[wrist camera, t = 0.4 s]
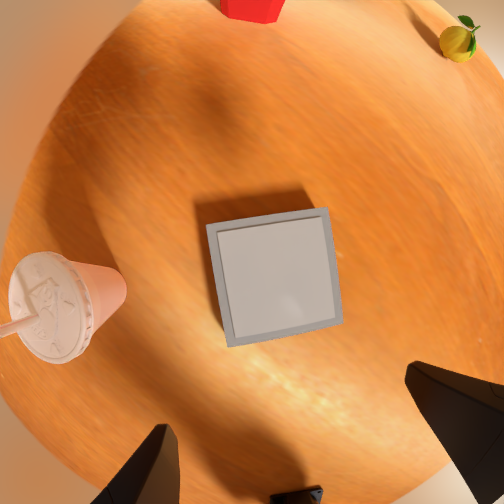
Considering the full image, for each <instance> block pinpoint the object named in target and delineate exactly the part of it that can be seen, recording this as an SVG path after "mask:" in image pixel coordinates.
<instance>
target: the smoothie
mask: <svg viewBox="0 0 504 504" xmlns="http://www.w3.org/2000/svg"><path fill="white" fill-rule="evenodd" d="M126 295H127V286H126V282H125V280H124V278H123V276H122V275H121V274H120V273H119V272H118V271H117V270H115V269H113V268H110V267H104V266H98V265H92V264H86V263H81V262H75V261H70V260H68V259H66V258H65V257H64V256H62V255H60V254H57V253H54V252H52V251H47V252H39V253H32V254H29V255H27V256H26V257H24V258H23V259H22V260H21V261H20V262H19V263H18V264H17V266H16V267H15V269H14V271H13V273H12V276H11V279H10V284H9V292H8V300H9V309H10V314H11V318H12V322H9V323H6V324H3V325H0V338H3V337H5V336H7V335H10V334H12V333H15V332H17V333H18V335H19V337H20V338H21V340H22V341H23V343H24V344H25V345H26V347H27V348H28V349H29V350H30V351H31V352H32V353H33V354H34V355H36V356H37V357H39V358H40V359H42V360H44V361H46V362H49V363H53V364H62V363H66V362H68V361H70V360H72V359H74V358H76V357H77V356H79V355H80V354H82V353H83V351H84V350H85V349H86V348H87V346H88V345H89V342H90V339H91V337H92V335H93V334H94V333H95V331H96V330H97V329H98V328H99V327H100V326H101V325H102V324H103V323H104V322H105V321H106V320H107V319H108V318H109V317H110V316H111V315H112V314H113V313H114V312H115V311H116V310H117V309H118V308H119V307H120V306H121V305H122V304H123V303H124V301H125V299H126Z"/></svg>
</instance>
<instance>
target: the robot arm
mask: <svg viewBox="0 0 504 504" xmlns="http://www.w3.org/2000/svg"><path fill="white" fill-rule="evenodd" d="M405 384H406V386H407V388H408V390H409V392H410V394H411V396H412V398H413V399H414V401H415V403H416V405H417V407H418V409H419V411H420V412H421V414H422V416H423V417H424V418H425V420H426V421H427V423H428V424H429V426H430V427H431V429H432V430H433V432H434V433H435V435H436V436H437V438H438V439H439V441H440V442H441V444H442V445H443V447H444V448H445V450H446V452H447V453H448V455H449V456H450V458H451V459H452V461H453V462H454V464H455V466H456V467H457V469H458V470H459V472H460V474H461V475H462V477H463V479H464V480H465V482H466V484H467V485H468V487H469V488H470V490H471V492H472V494H473V495H474V497H475V499H476V500H477V502H478V504H493V503H494V502H495V501H496V500H498V499H499V498H500V497H501V496H502V495H503V494H504V385H500V384H495V383H492V382H488V381H484V380H481V379H477V378H473V377H470V376H466V375H463V374H459V373H456V372H453V371H449V370H446V369H443V368H440V367H436V366H433V365H430V364H427V363H424V362H421V361H414V362H412V363H410V364H408V366H407V370H406V375H405ZM179 492H180V468H179V456H178V441H177V438H176V436H175V434H174V432H173V430H172V429H171V427H170V425H169V424H157V425H156V426H155V427H154V429H153V430H152V431H151V432H150V434H149V435H148V436H147V437H146V439H145V440H144V441H143V442H142V444H141V445H140V446H139V447H138V449H137V450H136V451H135V452H134V453H133V455H132V456H131V457H130V458H129V460H128V461H127V462H126V463H125V464H124V466H123V467H122V468H121V469H120V470H119V472H118V473H117V474H116V475H115V476H114V478H113V479H112V480H111V481H110V482H109V483H108V485H107V486H106V487H105V488H104V489H103V490H102V491H101V493H100V494H99V495H98V496H97V497H96V498H95V499H94V500H93V501H92V502H91V503H90V504H179ZM322 494H323V489H322V488H316V489H311V490H305V491H300V492H293V493H286V494H279V495H272V496H270V502H269V504H320V501H321V498H322Z"/></svg>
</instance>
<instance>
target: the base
mask: <svg viewBox="0 0 504 504" xmlns="http://www.w3.org/2000/svg"><path fill="white" fill-rule="evenodd" d="M206 229H207V235H208V242H209V248H210V254H211V260H212V266H213V272H214V278H215V284H216V289H217V295H218V300H219V306H220V311H221V316H222V322H223V327H224V332H225V337H226V342H227V347H234V346H240V345H246V344H252V343H258V342H263V341H268V340H273V339H278V338H283V337H288V336H293V335H297V334H302V333H306V332H310V331H315V330H319V329H323V328H327V327H331V326H335V325H339V324H343V313H342V303H341V294H340V285H339V277H338V269H337V262H336V255H335V248H334V241H333V235H332V229H331V223H330V217H329V212H328V207H322V208H314V209H307V210H299V211H292V212H285V213H278V214H271V215H264V216H257V217H251V218H244V219H238V220H231V221H225V222H219V223H213V224H207V225H206Z"/></svg>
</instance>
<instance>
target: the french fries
mask: <svg viewBox="0 0 504 504" xmlns="http://www.w3.org/2000/svg"><path fill="white" fill-rule="evenodd" d="M284 2H285V0H220V3H221V10H222V13H223V14H224V15H226V16H227V17H228V18H232V19H237V20H244V21H250V22H255V23H262V24H267V23H273V22H276V21H277V18H278V16H279V13H280V11H281V9H282V6H283V4H284Z"/></svg>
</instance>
